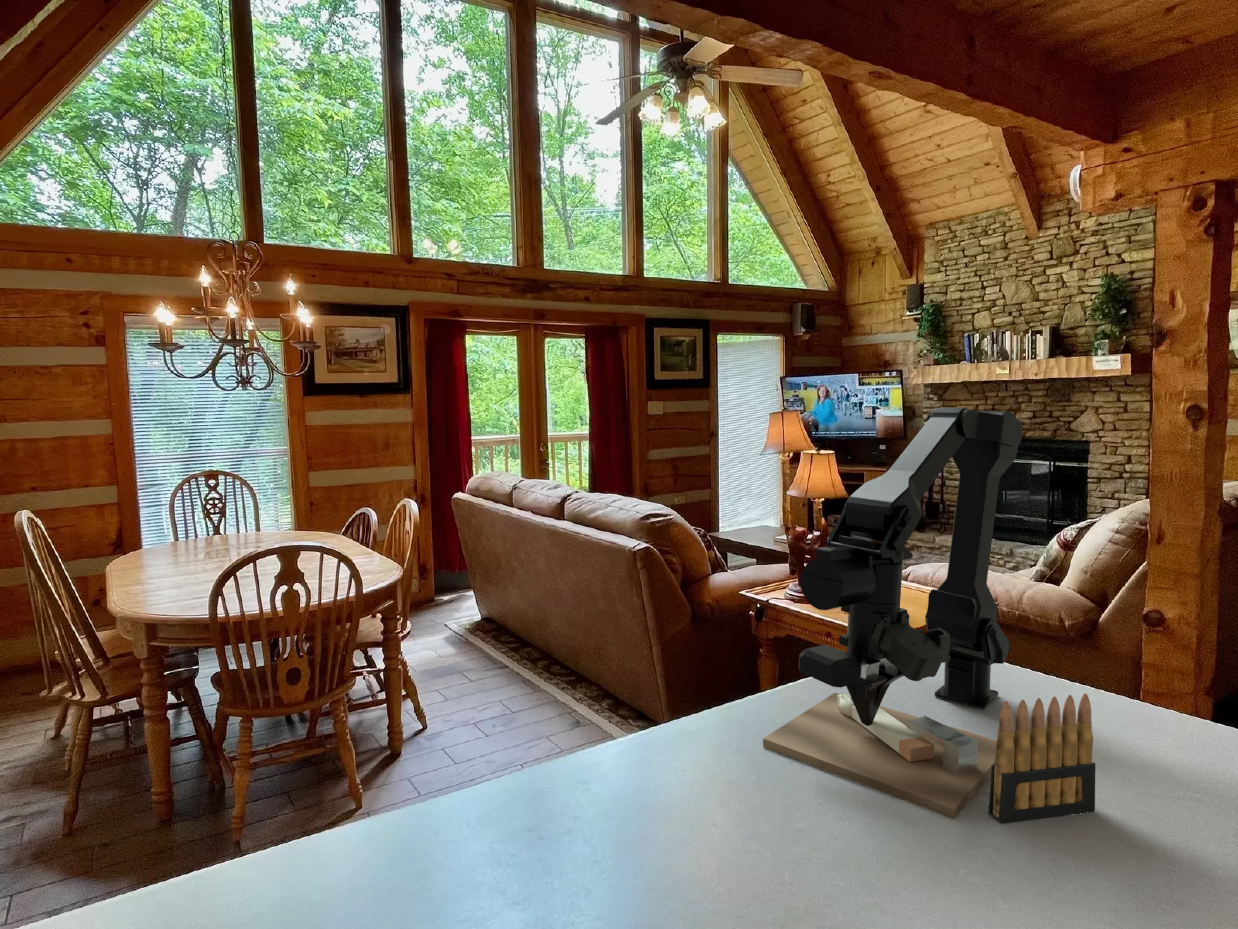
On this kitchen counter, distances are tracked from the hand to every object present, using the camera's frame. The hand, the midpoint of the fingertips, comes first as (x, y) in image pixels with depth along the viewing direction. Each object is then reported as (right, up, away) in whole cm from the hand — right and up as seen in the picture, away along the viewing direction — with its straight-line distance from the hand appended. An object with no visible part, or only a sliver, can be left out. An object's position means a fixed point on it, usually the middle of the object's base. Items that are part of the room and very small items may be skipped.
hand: (866, 724), depth 87 cm
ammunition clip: (+12, -4, -15) cm, 20 cm away
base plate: (+2, -2, -2) cm, 3 cm away
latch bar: (+2, -1, +1) cm, 2 cm away
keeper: (+6, -2, -6) cm, 9 cm away
